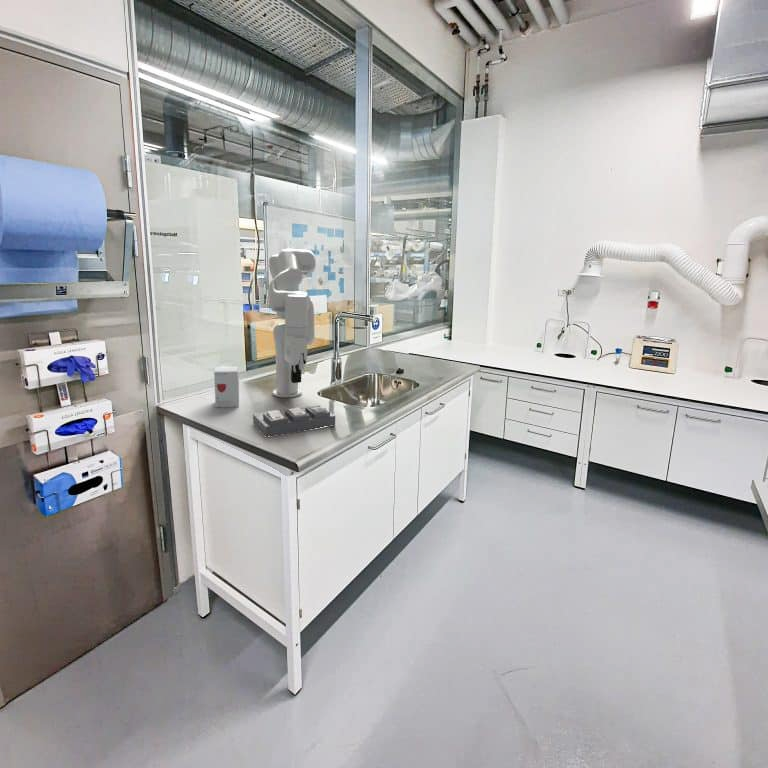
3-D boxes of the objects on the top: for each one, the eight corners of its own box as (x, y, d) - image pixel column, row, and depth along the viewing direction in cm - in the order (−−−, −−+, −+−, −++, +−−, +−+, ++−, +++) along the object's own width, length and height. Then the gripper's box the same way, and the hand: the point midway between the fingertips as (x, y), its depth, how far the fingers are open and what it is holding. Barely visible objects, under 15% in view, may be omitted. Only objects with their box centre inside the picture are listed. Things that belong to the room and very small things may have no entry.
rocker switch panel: (253, 424, 163) (252, 409, 161) (318, 414, 177) (319, 400, 175) (266, 437, 152) (265, 422, 150) (335, 425, 166) (335, 411, 164)
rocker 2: (309, 411, 167) (309, 407, 166) (319, 409, 169) (318, 406, 169) (316, 412, 162) (315, 409, 161) (326, 411, 164) (325, 407, 164)
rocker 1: (267, 414, 158) (267, 410, 157) (278, 412, 160) (278, 409, 159) (272, 422, 153) (273, 419, 153) (284, 421, 155) (284, 417, 155)
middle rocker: (288, 412, 162) (288, 408, 162) (299, 410, 164) (299, 407, 164) (295, 418, 157) (295, 414, 157) (305, 416, 160) (305, 413, 159)
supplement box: (215, 408, 178) (213, 371, 174) (216, 401, 186) (215, 366, 182) (239, 407, 180) (237, 371, 176) (239, 400, 189) (238, 365, 185)
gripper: (277, 327, 157) (278, 377, 163) (294, 336, 146) (294, 389, 151) (297, 326, 161) (297, 375, 167) (315, 334, 150) (314, 387, 155)
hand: (296, 381), depth 159 cm, fingers closed
